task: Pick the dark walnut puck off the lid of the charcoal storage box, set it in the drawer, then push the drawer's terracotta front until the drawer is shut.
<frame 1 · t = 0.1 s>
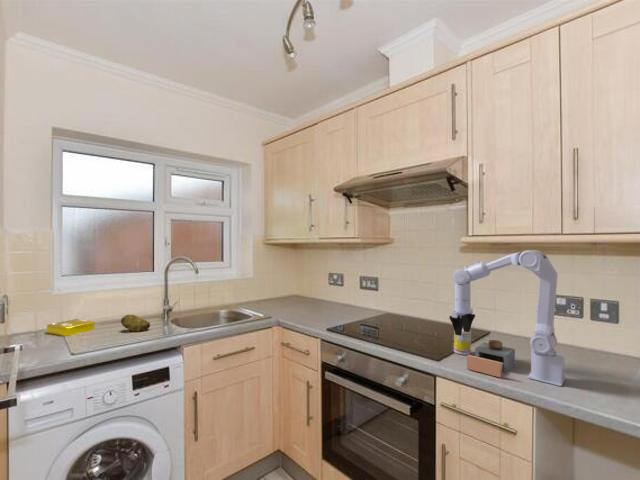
hand: (462, 333, 132), 10 cm above the table, tool pointing down, fingers open, 7 cm apart
element tile: (71, 332, 165), on the table
walnut puck: (495, 348, 126), point 6 cm above the table, touching storage box
potato: (135, 330, 167), on the table
storage box: (494, 364, 126), on the table
supplement bottle: (462, 353, 139), on the table
drawer: (487, 362, 120), point 3 cm above the table, slide at 7.0 cm
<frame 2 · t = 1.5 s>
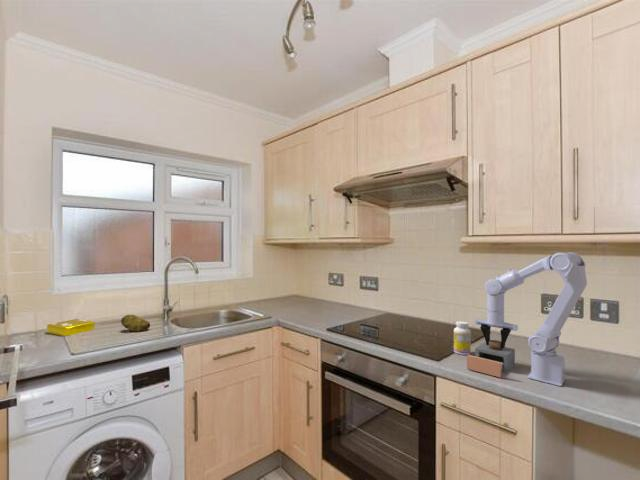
hand: (495, 346, 126), 7 cm above the table, tool pointing down, fingers closed on walnut puck, 5 cm apart
walnut puck: (495, 348, 126), point 6 cm above the table, touching gripper, storage box
everything else where it was.
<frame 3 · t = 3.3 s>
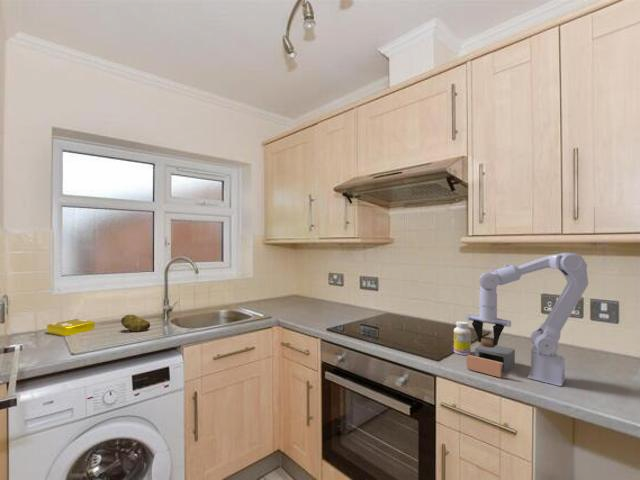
hand: (487, 343, 120), 10 cm above the table, tool pointing down, fingers closed on walnut puck, 5 cm apart
walnut puck: (487, 345, 120), point 9 cm above the table, touching gripper
everything else where it was.
when the fingers open (3 cm above the table, at t = 4.9 s): walnut puck stays where it is, resting on drawer.
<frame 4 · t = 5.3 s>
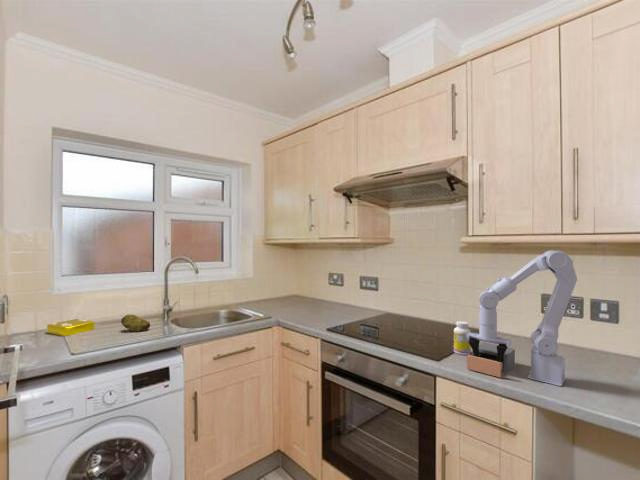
hand: (487, 361, 120), 3 cm above the table, tool pointing down, fingers open, 7 cm apart
walnut puck: (488, 366, 120), point 1 cm above the table, touching drawer
drawer: (487, 362, 120), point 3 cm above the table, slide at 7.0 cm, touching walnut puck
everything else where it was.
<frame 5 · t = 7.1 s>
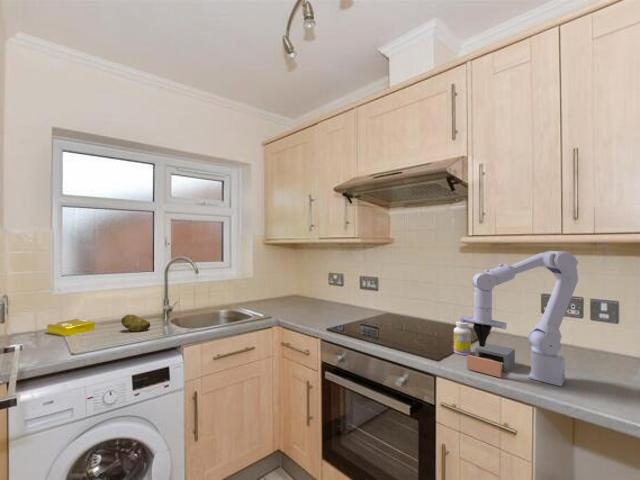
hand: (482, 345, 116), 10 cm above the table, tool pointing down, fingers closed
nothing on the table moved.
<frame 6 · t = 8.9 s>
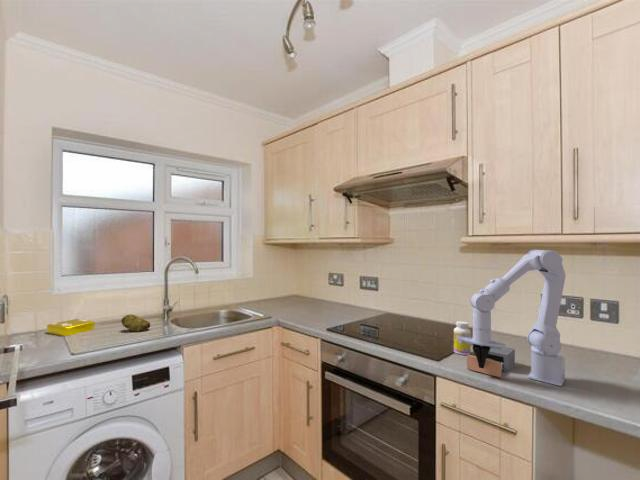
hand: (481, 367, 115), 3 cm above the table, tool pointing down, fingers closed
drawer: (487, 362, 120), point 3 cm above the table, slide at 7.0 cm, touching gripper, walnut puck
everything else where it was.
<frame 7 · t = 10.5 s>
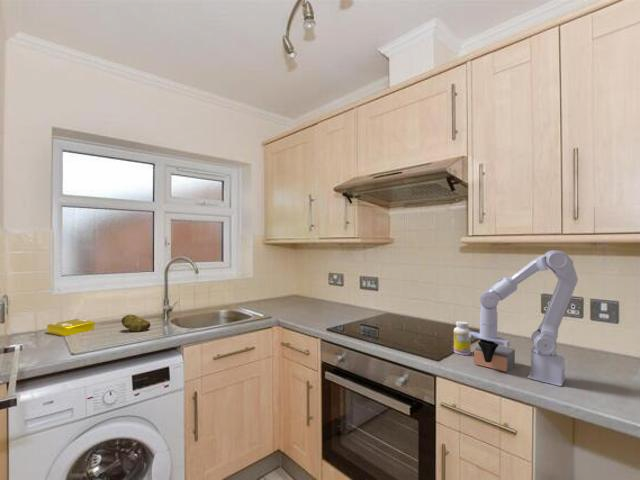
hand: (487, 361, 120), 3 cm above the table, tool pointing down, fingers closed, pressing on drawer
walnut puck: (494, 362, 125), point 1 cm above the table, touching drawer
drawer: (493, 357, 125), point 3 cm above the table, slide at -0.2 cm, touching gripper, storage box, walnut puck
everything else where it was.
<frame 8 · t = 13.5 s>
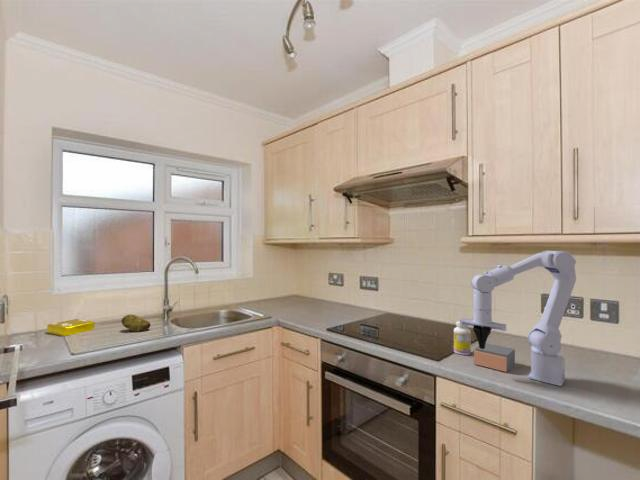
hand: (482, 348, 115), 9 cm above the table, tool pointing down, fingers closed
drawer: (493, 357, 125), point 3 cm above the table, slide at 0.0 cm, touching walnut puck
everything else where it was.
at the end: drawer slide at 0.0 cm; walnut puck inside the target area on the storage box (0.7 cm from its centre), point 1.2 cm above the storage box's base; the gripper is holding nothing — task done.
